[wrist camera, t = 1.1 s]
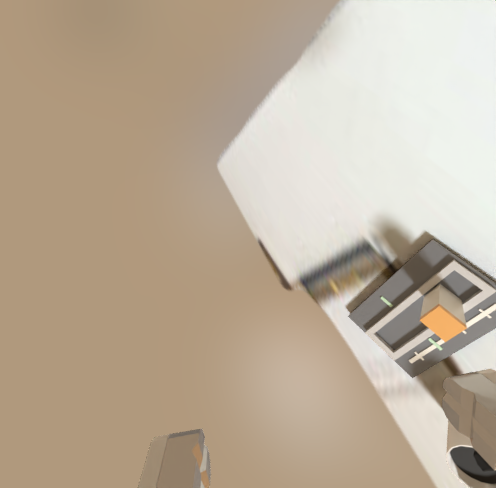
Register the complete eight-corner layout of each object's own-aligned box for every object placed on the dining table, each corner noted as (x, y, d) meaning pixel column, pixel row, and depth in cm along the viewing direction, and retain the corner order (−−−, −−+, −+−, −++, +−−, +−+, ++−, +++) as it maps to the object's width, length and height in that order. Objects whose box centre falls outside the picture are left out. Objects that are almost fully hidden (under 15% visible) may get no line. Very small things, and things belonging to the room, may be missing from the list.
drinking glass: (465, 389, 40) (470, 435, 33) (512, 426, 37) (531, 486, 30) (435, 410, 43) (434, 457, 36) (477, 446, 40) (485, 505, 33)
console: (432, 238, 40) (432, 240, 38) (526, 304, 35) (531, 310, 33) (350, 313, 50) (346, 318, 48) (413, 373, 45) (411, 381, 43)
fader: (439, 283, 39) (439, 306, 31) (461, 300, 38) (466, 328, 29) (424, 295, 40) (419, 320, 32) (444, 312, 39) (445, 342, 31)
